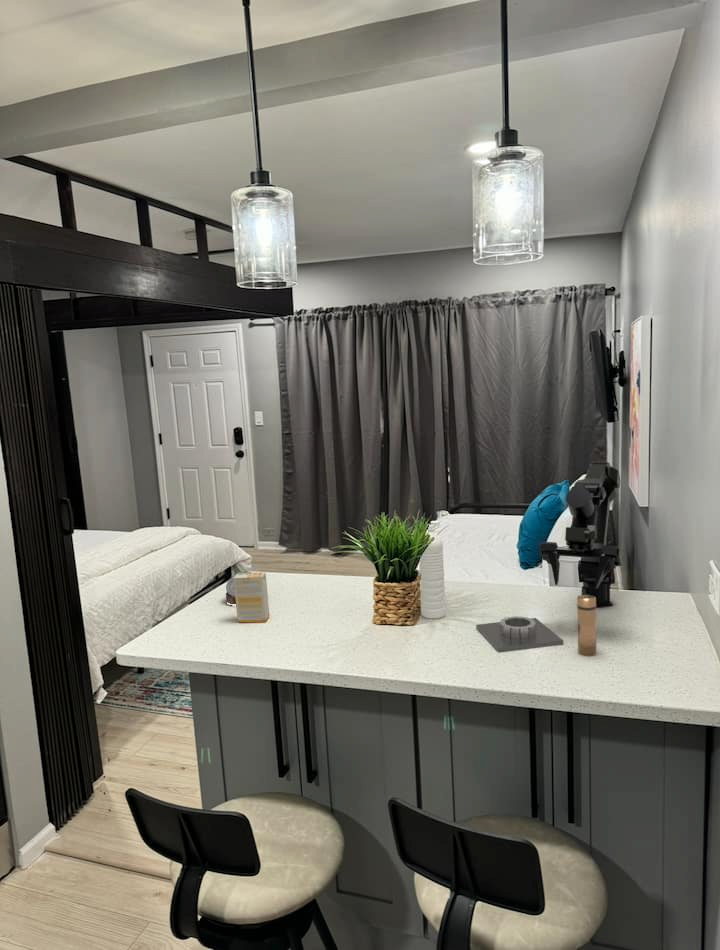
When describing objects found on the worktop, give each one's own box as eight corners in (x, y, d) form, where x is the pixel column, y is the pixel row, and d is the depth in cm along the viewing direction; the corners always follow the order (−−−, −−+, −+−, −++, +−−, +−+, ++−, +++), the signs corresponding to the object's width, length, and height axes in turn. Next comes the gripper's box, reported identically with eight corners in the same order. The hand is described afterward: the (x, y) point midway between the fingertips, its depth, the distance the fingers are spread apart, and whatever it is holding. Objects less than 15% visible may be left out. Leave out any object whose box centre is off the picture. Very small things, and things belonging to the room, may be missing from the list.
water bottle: (441, 620, 185) (437, 528, 182) (418, 617, 188) (413, 527, 185) (451, 609, 193) (448, 521, 190) (429, 607, 196) (425, 520, 193)
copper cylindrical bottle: (591, 648, 162) (590, 593, 160) (600, 654, 158) (599, 599, 156) (574, 650, 161) (573, 595, 159) (583, 657, 157) (582, 601, 155)
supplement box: (270, 616, 196) (266, 571, 194) (266, 622, 191) (262, 576, 190) (241, 617, 197) (237, 572, 195) (236, 623, 192) (232, 577, 190)
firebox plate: (535, 621, 180) (535, 608, 180) (563, 644, 165) (562, 630, 164) (476, 628, 178) (475, 615, 178) (498, 652, 162) (497, 637, 162)
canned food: (260, 612, 214) (272, 586, 211) (238, 620, 206) (250, 592, 203) (235, 592, 219) (247, 565, 216) (213, 598, 211) (224, 570, 208)
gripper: (538, 510, 171) (529, 568, 164) (619, 513, 162) (613, 575, 155) (547, 531, 180) (538, 587, 172) (624, 535, 171) (618, 595, 164)
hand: (575, 586), depth 166 cm, fingers open, 9 cm apart
